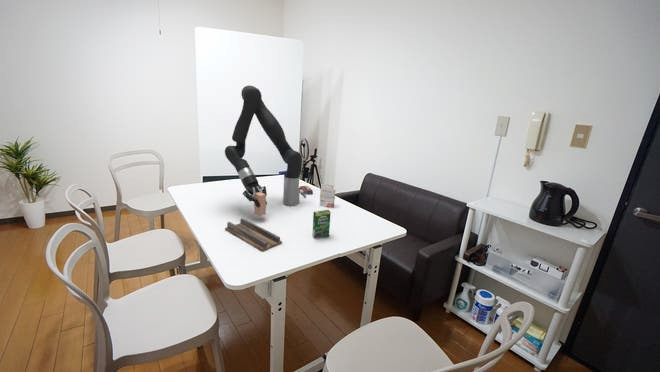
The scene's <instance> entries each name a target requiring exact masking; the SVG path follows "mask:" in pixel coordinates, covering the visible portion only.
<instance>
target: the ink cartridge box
mask: <svg viewBox="0 0 660 372" xmlns="http://www.w3.org/2000/svg"><path fill="white" fill-rule="evenodd" d="M335 199H336V187H335V185H334V184H328V183H321V185H320V194H319V207H325V208H328V209H329V208H330V209H332V208H334V206H335V201H336V200H335Z"/></svg>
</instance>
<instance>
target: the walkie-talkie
mask: <svg viewBox="0 0 660 372" xmlns="http://www.w3.org/2000/svg"><path fill="white" fill-rule="evenodd" d="M299 189H300V195H302V196H303V197H304V198H306V197H307V195H313V191H314V190H313V189H312V188H311V187H310V186H308V185H299Z"/></svg>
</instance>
